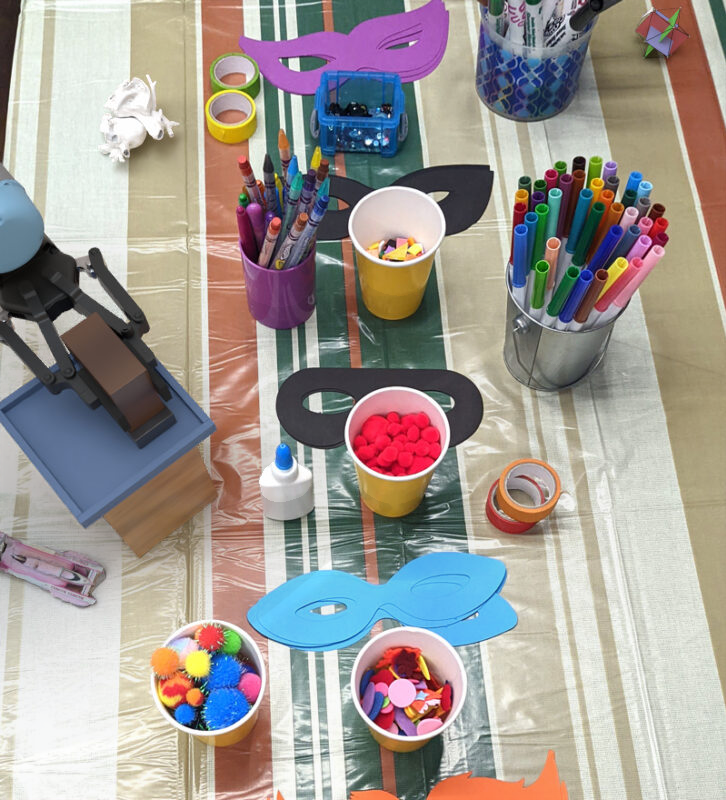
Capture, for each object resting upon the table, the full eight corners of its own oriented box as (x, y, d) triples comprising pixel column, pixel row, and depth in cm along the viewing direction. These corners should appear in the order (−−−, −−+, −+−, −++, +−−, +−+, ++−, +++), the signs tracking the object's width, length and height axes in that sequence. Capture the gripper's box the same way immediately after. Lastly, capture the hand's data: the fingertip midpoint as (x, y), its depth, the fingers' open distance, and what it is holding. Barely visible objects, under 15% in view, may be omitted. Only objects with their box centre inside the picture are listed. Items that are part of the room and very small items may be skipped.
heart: (139, 61, 125) (176, 103, 119) (161, 99, 131) (197, 140, 125) (70, 111, 125) (104, 154, 119) (95, 146, 130) (128, 189, 125)
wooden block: (81, 487, 108) (22, 417, 89) (160, 428, 111) (120, 349, 92) (138, 558, 105) (90, 501, 86) (219, 496, 108) (189, 428, 89)
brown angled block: (82, 381, 90) (50, 330, 81) (119, 355, 91) (92, 302, 82) (140, 449, 87) (113, 405, 78) (177, 422, 89) (156, 375, 79)
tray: (-5, 415, 90) (-11, 408, 88) (124, 325, 93) (120, 317, 92) (85, 529, 85) (80, 524, 84) (217, 430, 89) (214, 423, 88)
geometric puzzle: (699, 32, 132) (682, -14, 127) (689, 65, 130) (671, 19, 124) (653, 45, 137) (635, 1, 131) (642, 77, 134) (623, 34, 129)
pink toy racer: (111, 566, 105) (102, 556, 101) (91, 610, 103) (81, 601, 99) (10, 533, 106) (-3, 521, 102) (-11, 575, 104) (-25, 565, 100)
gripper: (89, 225, 93) (225, 374, 87) (-51, 316, 89) (80, 480, 83) (67, 177, 86) (213, 335, 80) (-86, 273, 82) (55, 448, 76)
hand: (145, 408), depth 82 cm, fingers closed on brown angled block, 4 cm apart
